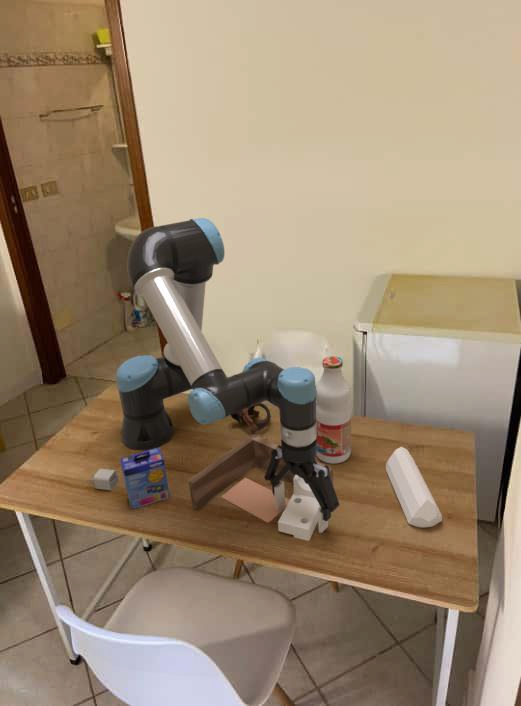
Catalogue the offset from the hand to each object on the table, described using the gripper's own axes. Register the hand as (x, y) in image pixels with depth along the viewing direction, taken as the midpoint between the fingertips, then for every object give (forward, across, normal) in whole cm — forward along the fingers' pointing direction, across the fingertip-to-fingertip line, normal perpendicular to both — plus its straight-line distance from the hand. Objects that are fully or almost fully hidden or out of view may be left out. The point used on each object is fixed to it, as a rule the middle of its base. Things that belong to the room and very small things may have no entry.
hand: (301, 517), depth 126 cm
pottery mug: (+1, -35, +23) cm, 42 cm away
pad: (+1, -13, -1) cm, 13 cm away
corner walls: (+1, -11, -1) cm, 11 cm away
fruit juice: (+1, -8, +25) cm, 26 cm away
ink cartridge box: (+1, -35, -16) cm, 38 cm away
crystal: (+1, +16, +22) cm, 28 cm away
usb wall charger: (+1, -49, -20) cm, 53 cm away
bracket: (+1, 0, +1) cm, 1 cm away
